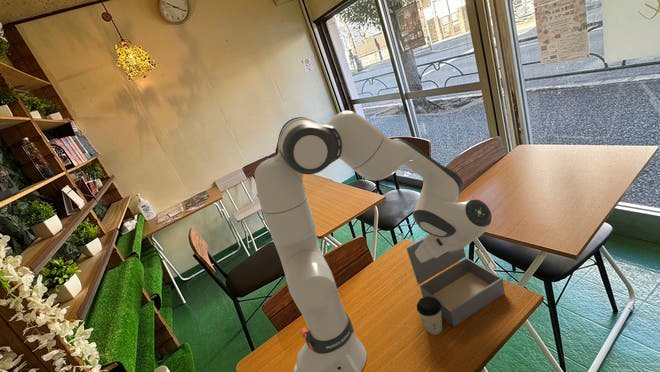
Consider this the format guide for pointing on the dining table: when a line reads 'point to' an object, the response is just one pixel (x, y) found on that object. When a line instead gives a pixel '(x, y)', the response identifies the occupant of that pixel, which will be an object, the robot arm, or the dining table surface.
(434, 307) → the coffee cup
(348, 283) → the dining table surface
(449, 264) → the mailer lid
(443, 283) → the mailer box
